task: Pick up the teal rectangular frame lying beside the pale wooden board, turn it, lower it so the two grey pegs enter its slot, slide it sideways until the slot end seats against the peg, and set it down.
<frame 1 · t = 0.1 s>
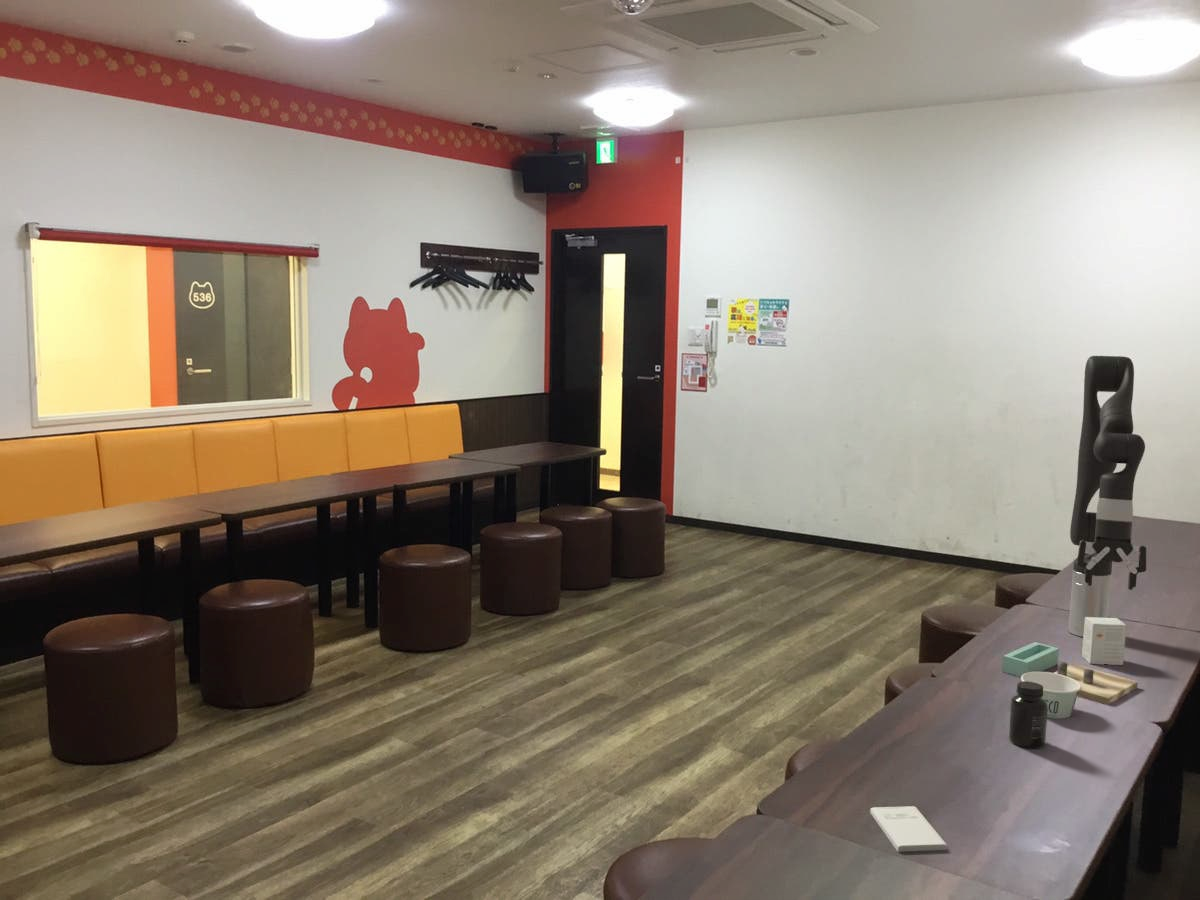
hand: (1109, 587, 230), 22 cm above the table, tool pointing down, fingers open, 8 cm apart
supplement bottle: (1026, 743, 198), on the table
peg board: (1089, 686, 228), on the table
teal rectangular frame: (1030, 667, 240), on the table
external hard drive: (906, 834, 164), on the table
food container: (1048, 710, 215), on the table
small box: (1101, 661, 245), on the table
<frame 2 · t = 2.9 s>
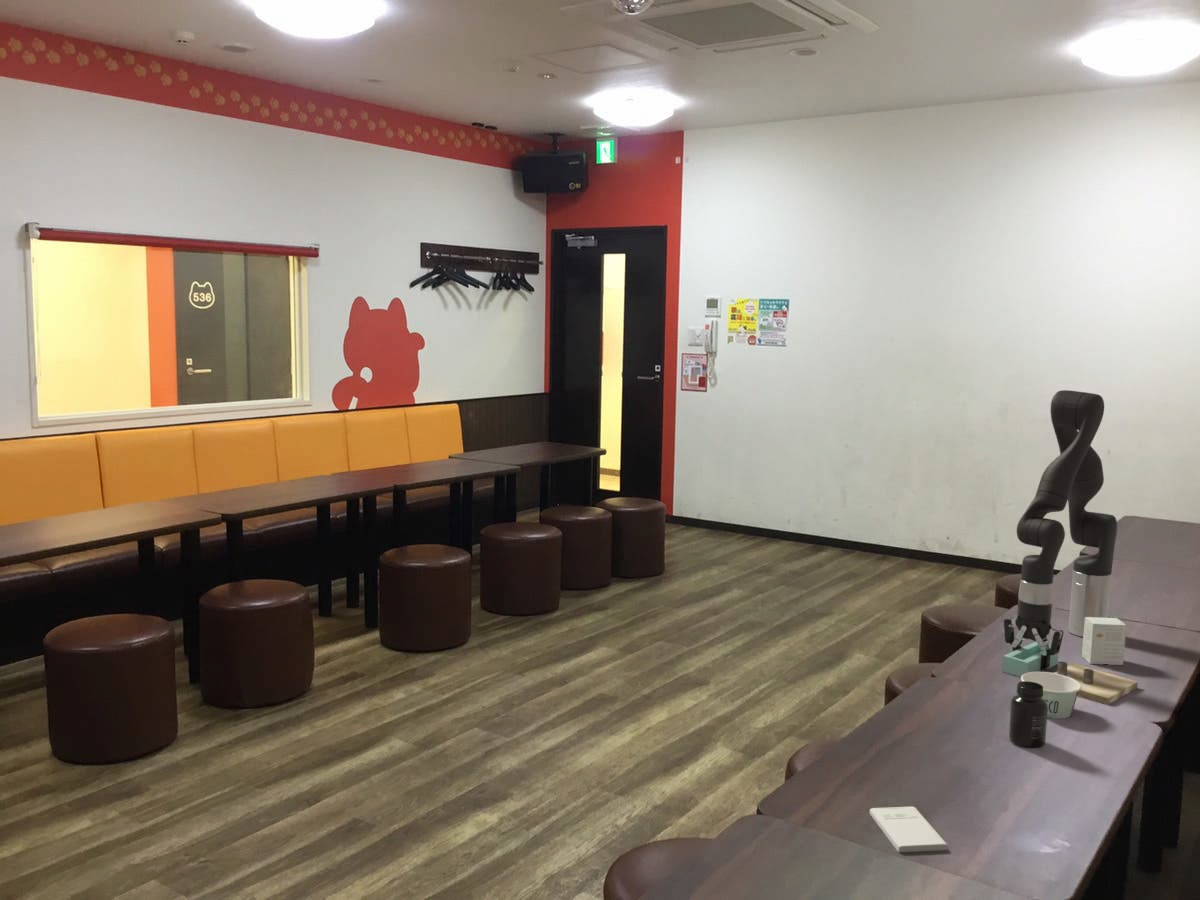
hand: (1030, 665, 240), 1 cm above the table, tool pointing down, fingers closed on teal rectangular frame, 6 cm apart
teal rectangular frame: (1030, 667, 240), on the table, touching gripper
everything else where it was.
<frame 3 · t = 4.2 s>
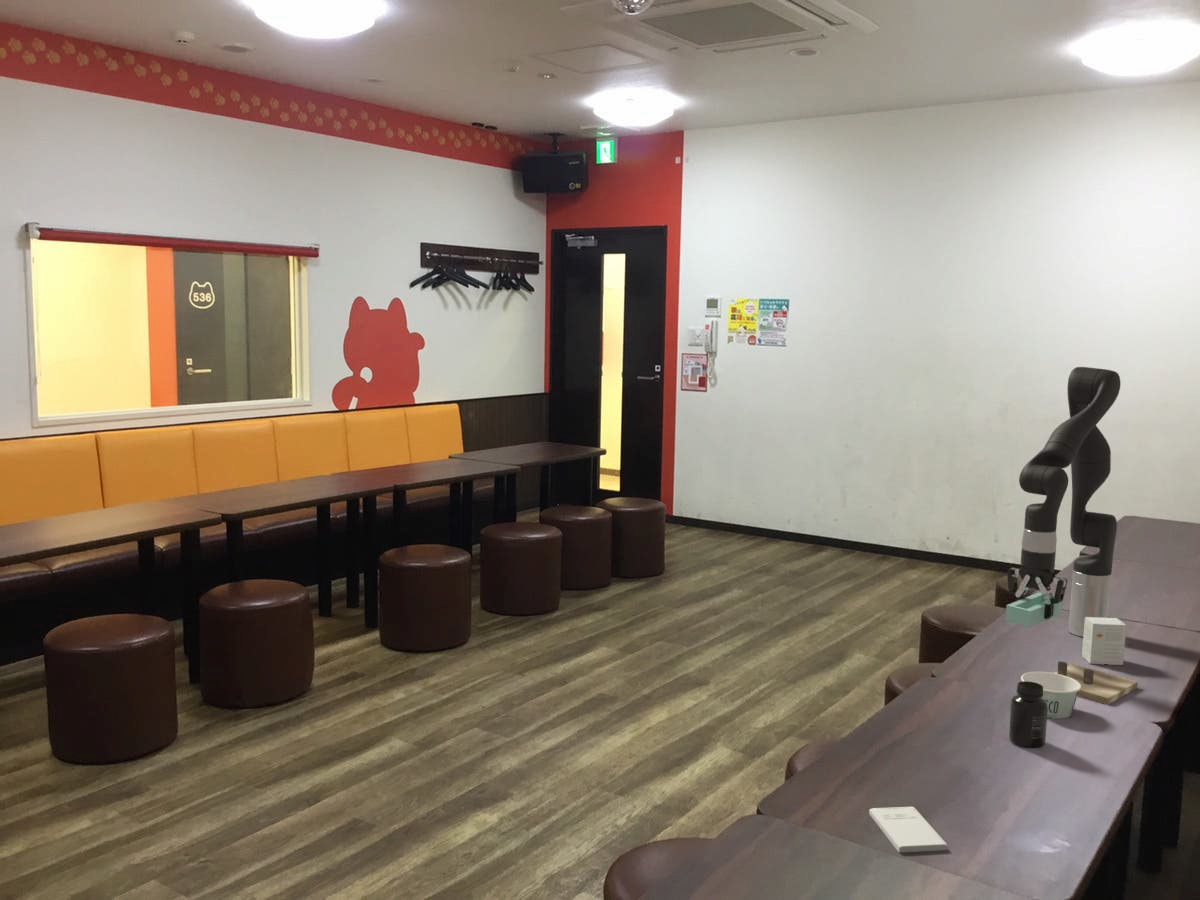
hand: (1033, 614, 238), 13 cm above the table, tool pointing down, fingers closed on teal rectangular frame, 6 cm apart
teal rectangular frame: (1033, 617, 239), point 13 cm above the table, touching gripper
everything else where it was.
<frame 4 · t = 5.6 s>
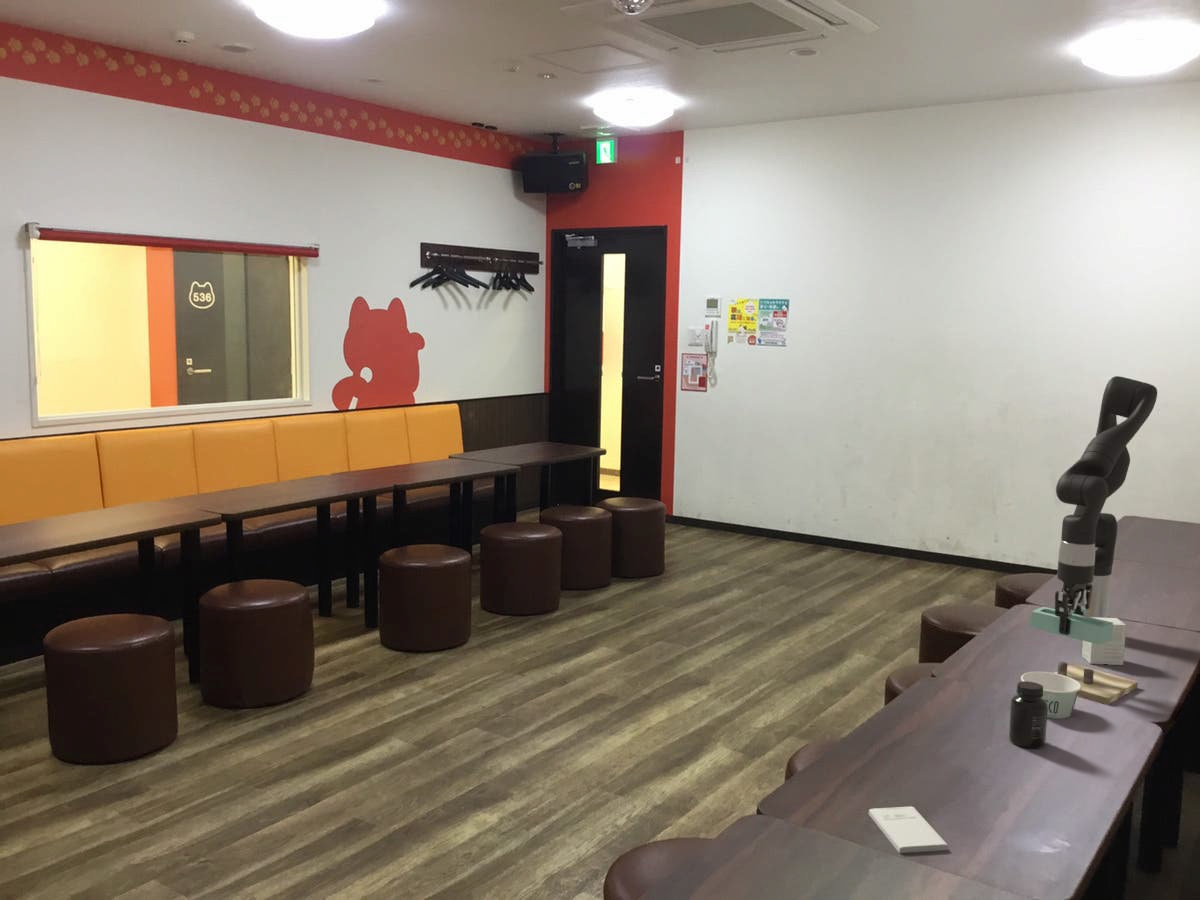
hand: (1070, 630, 229), 13 cm above the table, tool pointing down, fingers closed on teal rectangular frame, 6 cm apart
teal rectangular frame: (1070, 633, 229), point 12 cm above the table, touching gripper
everything else where it was.
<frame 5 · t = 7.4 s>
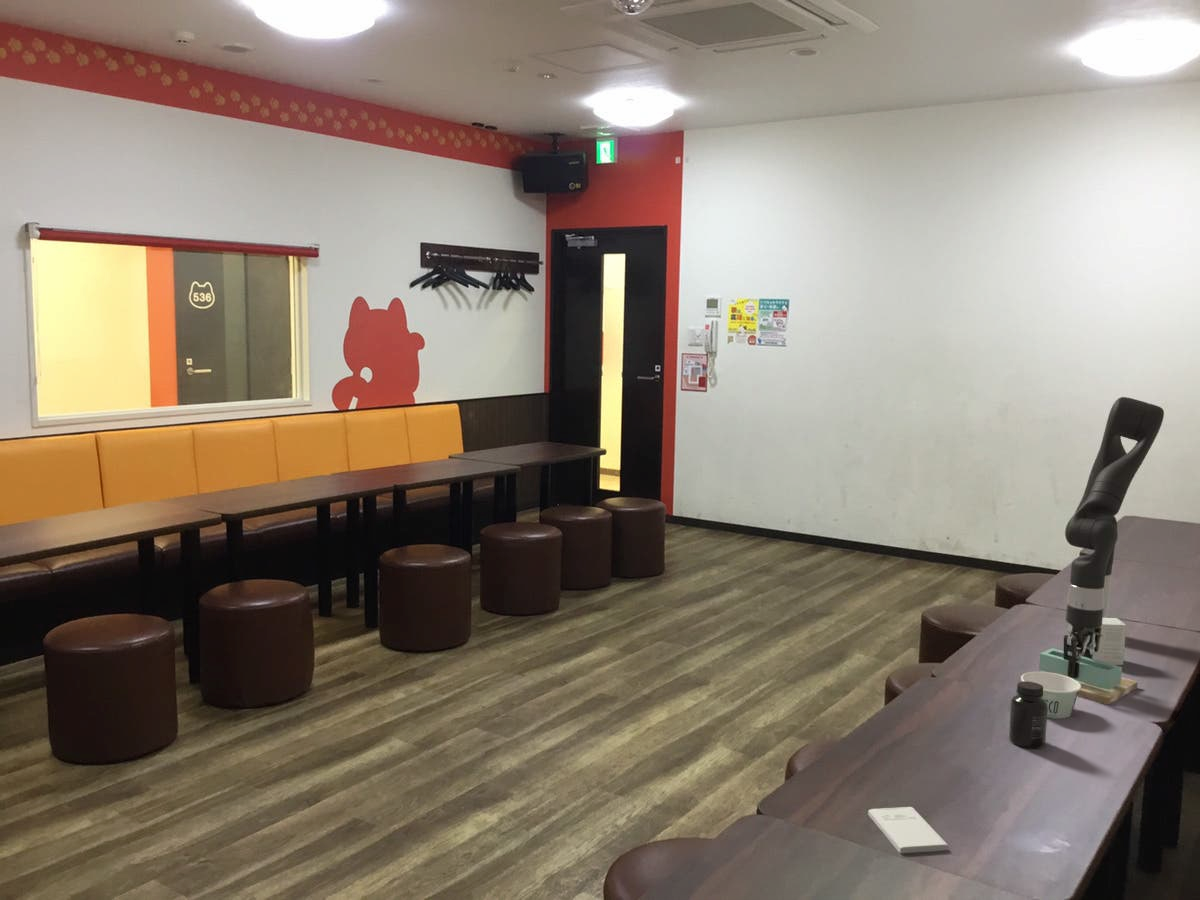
hand: (1079, 673, 228), 3 cm above the table, tool pointing down, fingers closed on teal rectangular frame, 6 cm apart
teal rectangular frame: (1079, 676, 228), point 2 cm above the table, touching gripper
everything else where it was.
when the fingers open (2 cm above the table, at t = 8.7 s): teal rectangular frame stays where it is, resting on peg board.
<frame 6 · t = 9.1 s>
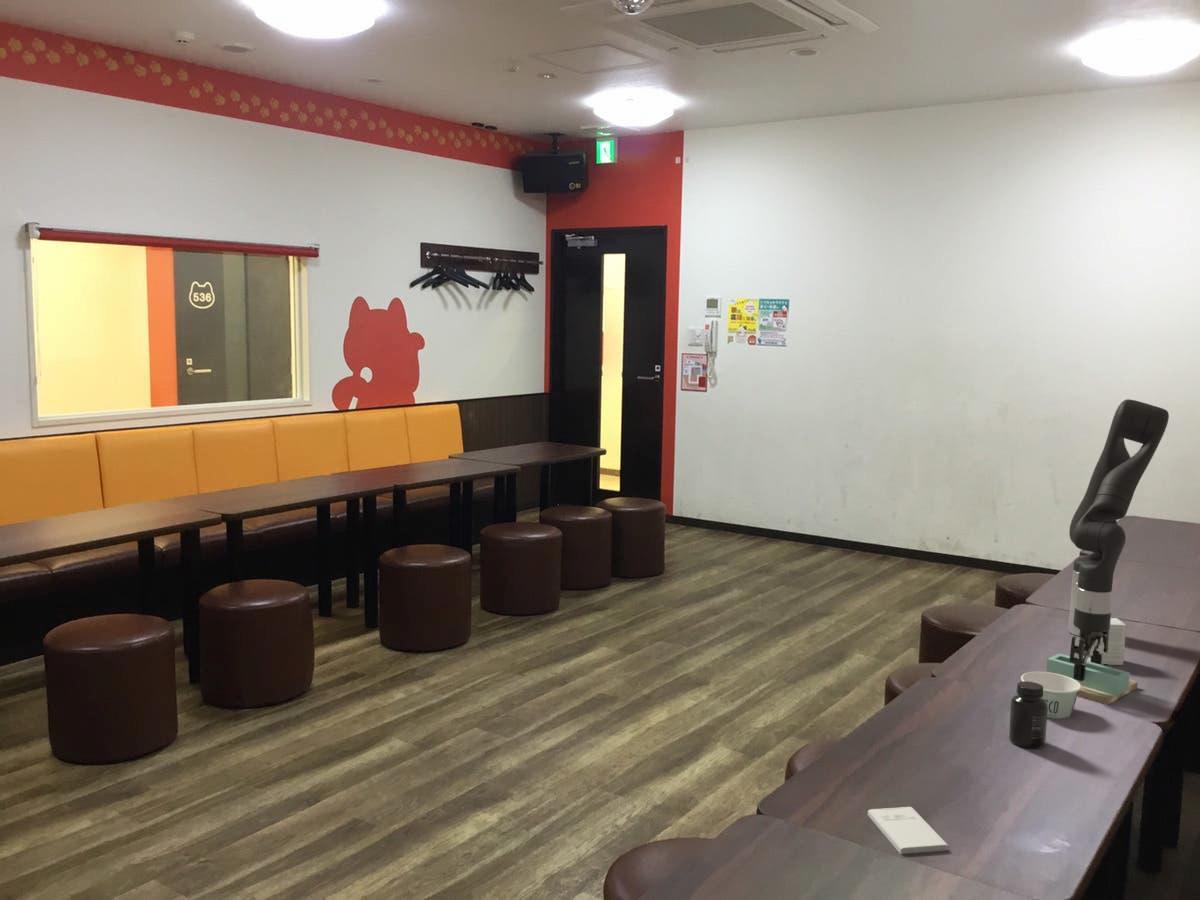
hand: (1087, 675, 227), 3 cm above the table, tool pointing down, fingers open, 8 cm apart
teal rectangular frame: (1086, 682, 227), point 1 cm above the table, touching peg board
everything else where it was.
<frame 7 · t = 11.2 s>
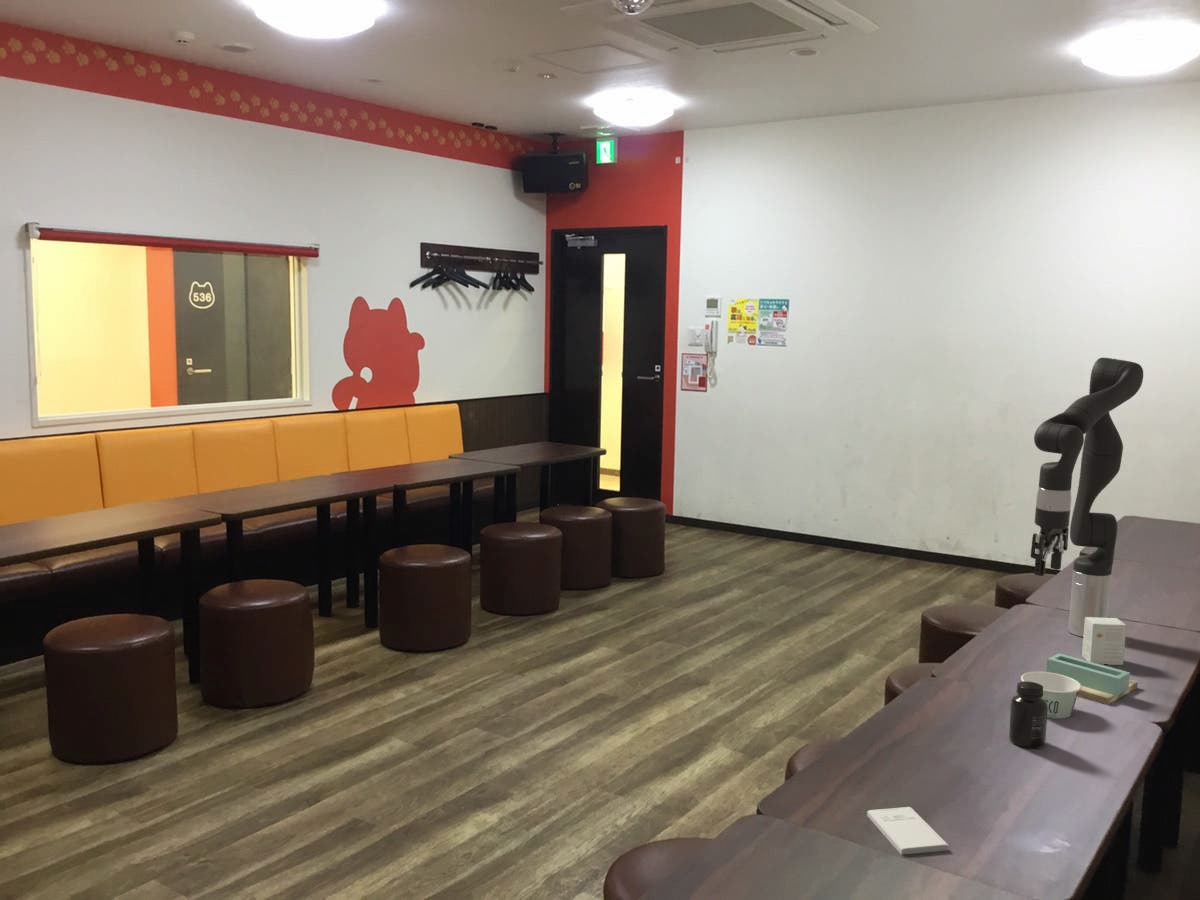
hand: (1047, 572, 238), 24 cm above the table, tool pointing down, fingers open, 8 cm apart
nothing on the table moved.
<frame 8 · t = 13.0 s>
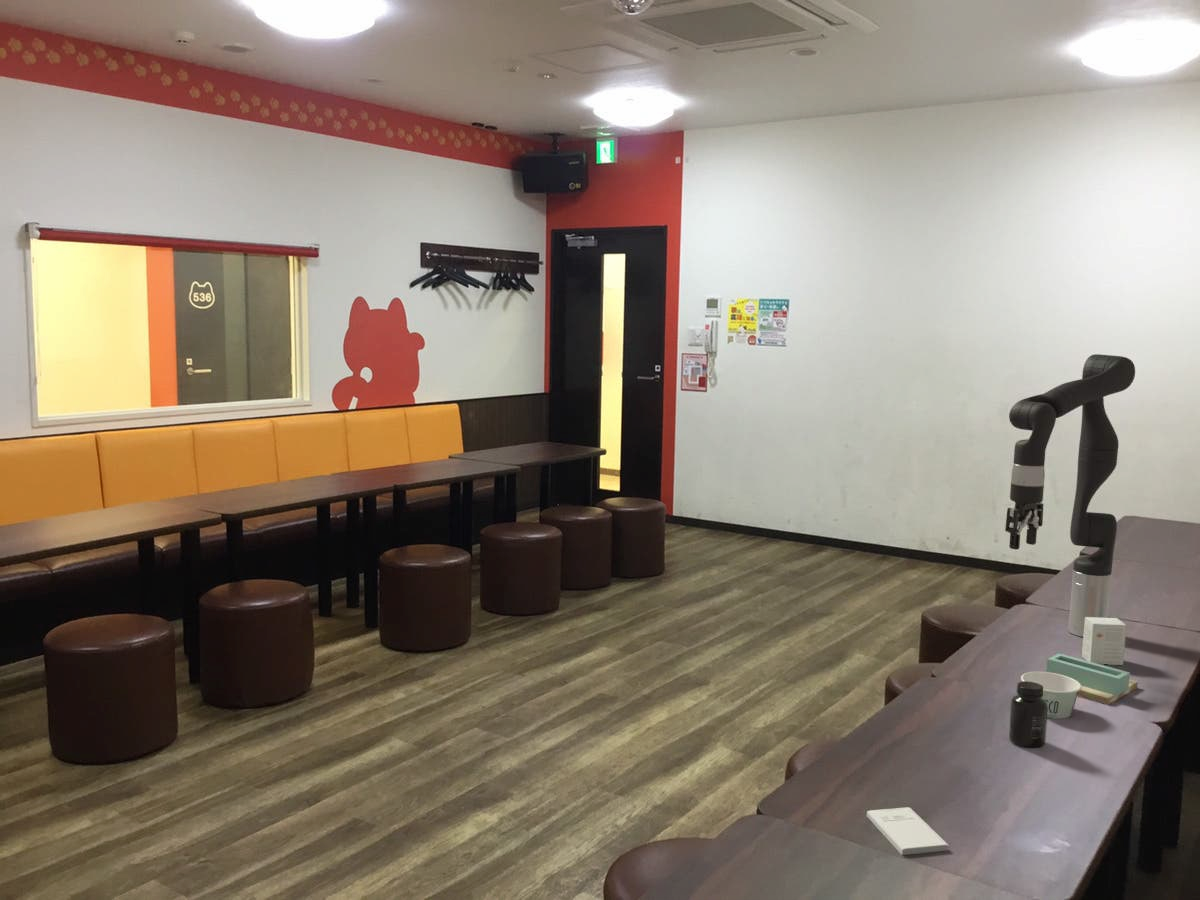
hand: (1022, 546, 245), 28 cm above the table, tool pointing down, fingers open, 8 cm apart
nothing on the table moved.
at the end: teal rectangular frame 0.3 cm from the target spot, point 1.5 cm above the table; teal rectangular frame tilted 0°; the gripper is holding nothing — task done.
